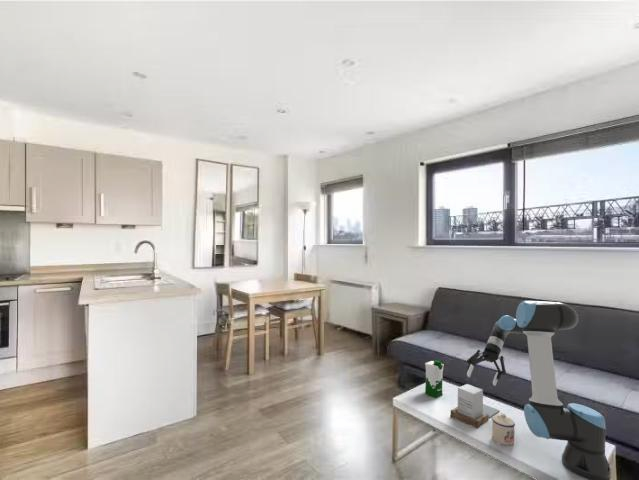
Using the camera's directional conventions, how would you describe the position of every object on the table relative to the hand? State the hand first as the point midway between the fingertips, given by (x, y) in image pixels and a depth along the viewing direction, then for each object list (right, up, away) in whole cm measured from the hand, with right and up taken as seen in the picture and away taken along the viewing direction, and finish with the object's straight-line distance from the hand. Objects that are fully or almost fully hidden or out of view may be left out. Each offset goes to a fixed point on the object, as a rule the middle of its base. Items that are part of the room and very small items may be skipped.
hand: (480, 380), depth 175 cm
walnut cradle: (-9, -16, -7) cm, 20 cm away
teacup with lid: (-1, -16, -25) cm, 30 cm away
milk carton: (-18, -17, +19) cm, 31 cm away
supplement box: (-9, -17, -7) cm, 20 cm away
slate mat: (+2, -17, +2) cm, 17 cm away
